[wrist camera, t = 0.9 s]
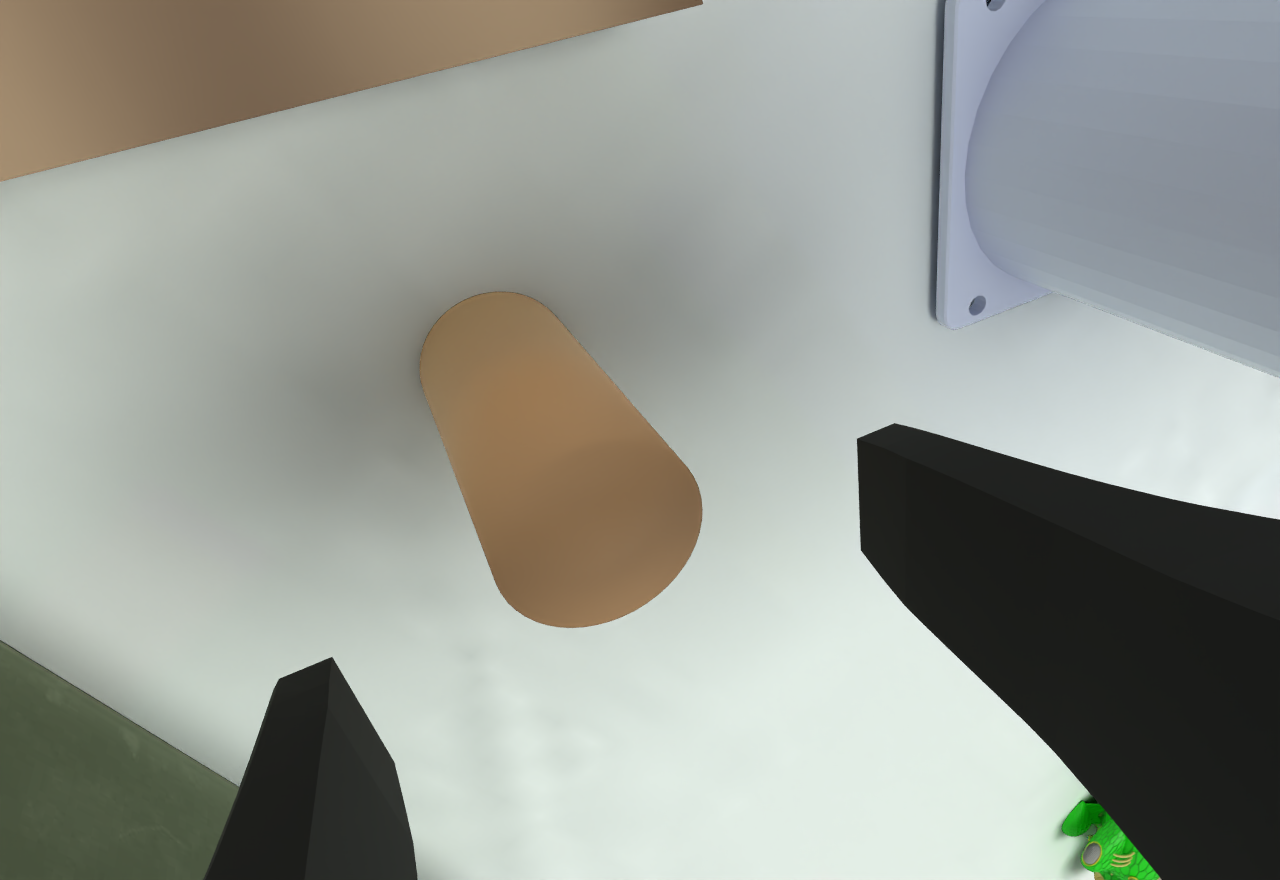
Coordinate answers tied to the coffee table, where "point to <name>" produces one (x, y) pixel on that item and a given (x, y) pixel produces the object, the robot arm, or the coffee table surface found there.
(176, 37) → the walnut hole plate
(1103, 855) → the crocodile figurine
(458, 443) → the tan peg
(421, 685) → the coffee table surface
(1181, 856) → the robot arm
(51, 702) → the handheld radio
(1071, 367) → the coffee table surface
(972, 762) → the coffee table surface
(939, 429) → the coffee table surface
